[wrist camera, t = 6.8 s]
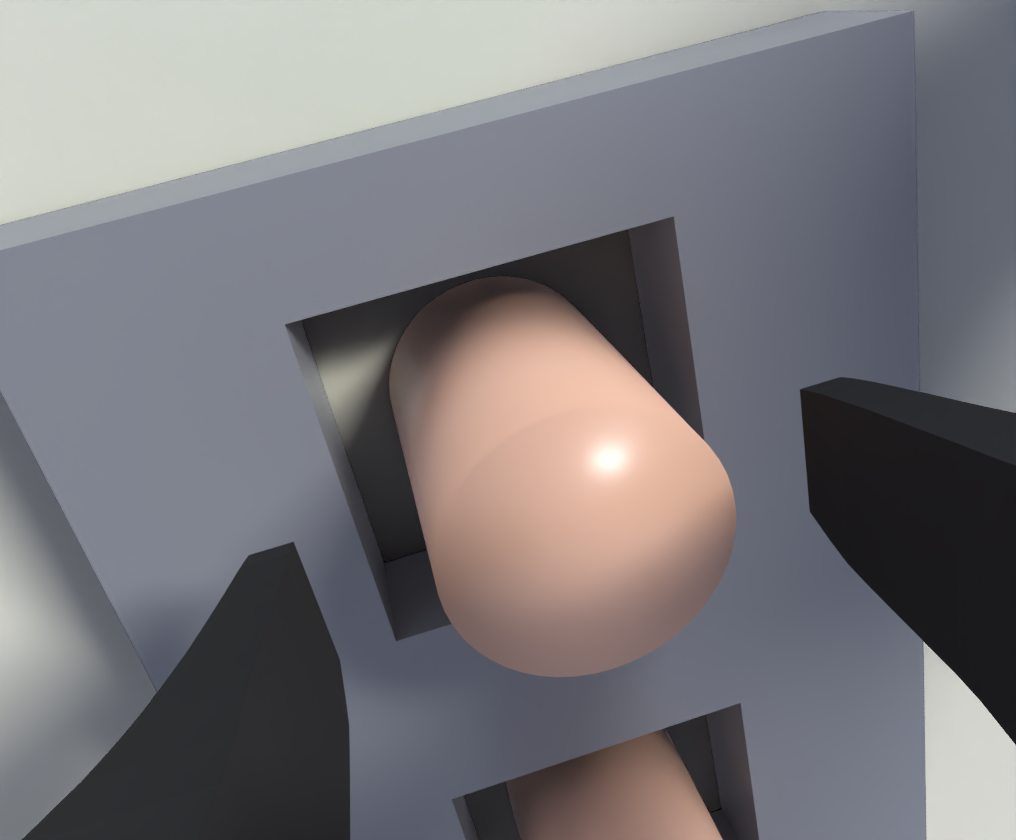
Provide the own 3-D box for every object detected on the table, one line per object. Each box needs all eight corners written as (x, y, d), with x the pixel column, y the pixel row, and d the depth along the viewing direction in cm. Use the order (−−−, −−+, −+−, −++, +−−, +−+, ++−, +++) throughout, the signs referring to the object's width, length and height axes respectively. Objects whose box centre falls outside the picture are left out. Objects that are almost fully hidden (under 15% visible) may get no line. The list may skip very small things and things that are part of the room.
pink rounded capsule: (580, 251, 16) (721, 367, 11) (613, 444, 18) (747, 626, 13) (363, 308, 16) (399, 458, 10) (418, 500, 18) (471, 712, 12)
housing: (-7, 227, 14) (-65, 267, 12) (824, 10, 15) (914, 10, 13) (361, 990, 23) (367, 1095, 21) (869, 812, 24) (927, 893, 22)
